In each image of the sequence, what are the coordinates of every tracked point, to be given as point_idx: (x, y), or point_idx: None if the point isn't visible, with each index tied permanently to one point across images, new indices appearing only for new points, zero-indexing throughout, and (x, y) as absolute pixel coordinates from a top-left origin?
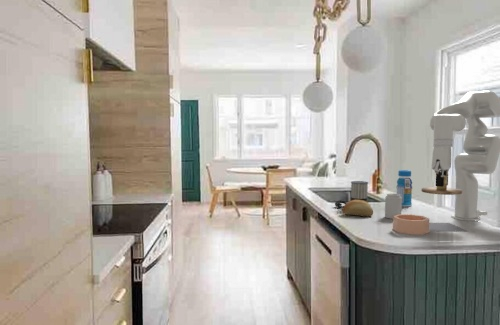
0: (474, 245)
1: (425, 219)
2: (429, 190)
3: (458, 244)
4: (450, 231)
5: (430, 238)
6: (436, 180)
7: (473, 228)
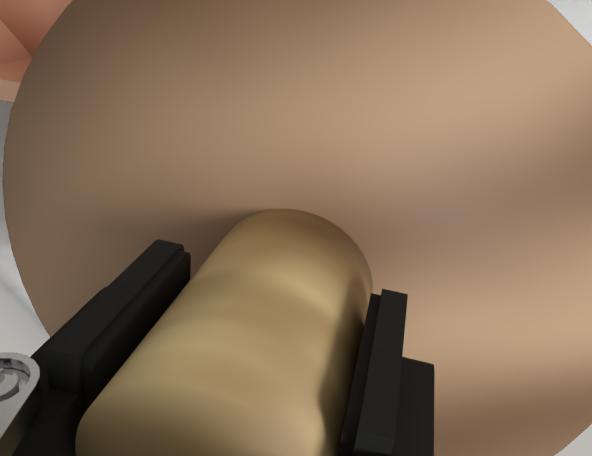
0: (46, 332)
1: (11, 89)
2: (58, 133)
3: (5, 271)
4: None
5: (6, 127)
6: (99, 309)
7: None
